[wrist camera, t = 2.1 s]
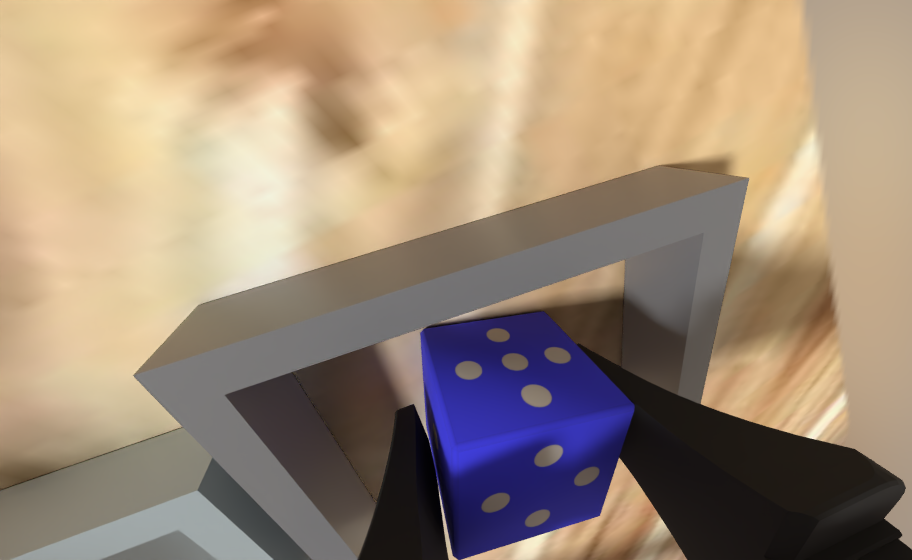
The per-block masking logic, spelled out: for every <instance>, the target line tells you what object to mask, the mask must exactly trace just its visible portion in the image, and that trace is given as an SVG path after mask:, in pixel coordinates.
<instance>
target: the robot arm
mask: <svg viewBox="0 0 912 560" xmlns="http://www.w3.org/2000/svg"><path fill="white" fill-rule="evenodd" d="M576 345H577V346H578V347H579V348H580V349H581V350H582V351H583V352H584V353H585V354H586V355H587V356H588V357H589V358H590V359H591V360H592V361H593V362H594V363H595V364H596V365H597V367H598V368H599V369H600V370H601V371H602V372H603V373H604V374H605V375H606V376H607V377H608V378H609V379H610V380H611V381H612V382H613V383H614V384H615V385H616V386H617V387H618V388H619V389H620V390H621V391H622V393H623V394H624V395H625V396H626V397H627V398H628V399H629V400H630V401H631V402H632V403H633V404H634V405H635V408H634V413H633V416H632V419H631V422H630V425H629V428H628V431H627V434H626V437H625V440H624V443H623V446H622V450H621V453H620V456H619V458H620V459H621V460H622V462H623V463H624V464H625V465H626V467H627V468H628V469H629V471H630V472H631V474H632V475H633V476H634V478H635V479H636V481H637V482H638V484H639V485H640V487H641V488H642V490H643V491H644V493H645V494H646V496H647V497H648V499H649V500H650V502H651V503H652V505H653V506H654V508H655V509H656V511H657V512H658V514H659V515H660V517H661V518H662V520H663V522H664V523H665V525H666V526H667V528H668V529H669V531H670V532H671V534H672V536H673V537H674V539H675V540H676V542H677V544H678V545H679V547H680V548H681V550H682V552H683V553H684V555H685V557H686V558H687V560H912V550H911V549H910V548H909V547H908V546H907V545H905V544H904V543H903V542H901V541H900V540H899V538H900V537H901V536H902V534H901V532H900V531H899V530H898V529H897V528H895V527H894V526H893V525H891V524H890V523H889V522H888V521H886V520H885V519H884V518H885V516H886V515H887V514H888V513H889V512H890V511H891V509H892V508H893V507H894V506H895V505H896V503H897V502H898V501H899V500H900V498H901V497H902V495H903V494H904V492H905V489H906V487H905V485H904V482H903V481H902V480H901V479H900V478H898V477H897V476H895V475H894V474H892V473H890V472H889V471H887V470H886V469H884V468H883V467H881V466H880V465H878V464H877V463H875V462H874V461H872V460H871V459H869V458H868V457H866V456H865V455H863V454H862V453H860V452H858V451H857V450H855V449H852V448H848V447H844V446H840V445H835V444H831V443H827V442H823V441H819V440H814V439H810V438H806V437H802V436H798V435H794V434H791V433H787V432H784V431H780V430H777V429H773V428H770V427H766V426H763V425H760V424H756V423H753V422H750V421H747V420H744V419H741V418H738V417H735V416H732V415H729V414H726V413H723V412H720V411H717V410H715V409H712V408H709V407H706V406H704V405H701V404H699V403H696V402H694V401H691V400H689V399H686V398H684V397H681V396H679V395H677V394H674V393H672V392H670V391H668V390H665V389H663V388H661V387H659V386H657V385H655V384H653V383H651V382H649V381H647V380H645V379H643V378H641V377H639V376H637V375H635V374H633V373H631V372H629V371H627V370H625V369H623V368H621V367H620V366H618V365H616V364H614V363H612V362H611V361H609V360H607V359H605V358H603V357H602V356H600V355H598V354H596V353H595V352H593V351H591V350H589V349H587V348H586V347H584V346H582V345H580V344H576ZM357 560H449V559H448V553H447V548H446V542H445V535H444V527H443V520H442V512H441V505H440V498H439V490H438V483H437V476H436V469H435V464H434V460H433V456H432V452H431V448H430V443H429V439H428V437H427V435H426V432H425V430H424V427H423V425H422V423H421V420H420V418H419V415H418V413H417V411H416V408H415V406H414V404H413V405H410V406H407V407H404V408H402V409H399V410H397V411H396V413H395V422H394V429H393V436H392V441H391V447H390V452H389V456H388V461H387V465H386V470H385V474H384V478H383V482H382V486H381V489H380V493H379V497H378V500H377V504H376V507H375V510H374V514H373V517H372V520H371V523H370V526H369V529H368V532H367V535H366V538H365V541H364V543H363V546H362V549H361V551H360V554H359V557H358V559H357Z"/></svg>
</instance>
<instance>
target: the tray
mask: <svg viewBox="0 0 912 560" xmlns="http://www.w3.org/2000/svg"><path fill="white" fill-rule="evenodd" d="M0 560H312V559H311V558H310V557H309V556H308V555H307V554H306V553H305V552H304V551H303V550H302V549H301V548H300V547H299V546H298V545H297V544H296V542H295V541H294V540H293V539H292V538H291V537H290V536H289V535H288V534H287V533H286V532H285V531H284V530H283V529H282V528H281V527H280V526H279V525H278V524H277V523H276V522H275V521H274V520H273V519H272V518H271V517H270V516H269V515H268V514H267V513H266V512H265V511H264V510H263V509H262V508H261V507H260V506H259V505H258V503H257V502H256V501H255V500H254V499H253V498H252V497H251V496H250V495H249V494H248V493H247V492H246V491H245V490H244V489H243V488H242V487H241V486H240V485H239V484H238V483H237V482H236V481H235V480H234V479H233V478H232V477H231V476H230V475H229V474H228V473H227V472H226V471H225V470H224V469H223V468H222V467H221V466H220V464H219V463H218V462H217V461H216V460H215V459H214V458H213V457H212V456H211V455H210V454H209V453H208V452H207V451H206V450H205V449H204V448H203V447H202V446H201V445H200V444H199V443H198V442H197V441H196V440H195V439H194V438H193V437H192V436H191V435H190V434H189V433H188V432H187V431H186V430H185V429H184V428H180V429H177V430H174V431H171V432H169V433H166V434H163V435H160V436H157V437H154V438H151V439H148V440H145V441H142V442H140V443H137V444H134V445H131V446H128V447H125V448H122V449H119V450H116V451H113V452H111V453H108V454H105V455H102V456H99V457H96V458H93V459H90V460H87V461H84V462H82V463H79V464H76V465H73V466H70V467H67V468H64V469H61V470H58V471H55V472H53V473H50V474H47V475H44V476H41V477H38V478H35V479H32V480H29V481H26V482H24V483H21V484H18V485H15V486H12V487H9V488H6V489H3V490H0Z"/></svg>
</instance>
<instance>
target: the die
mask: <svg viewBox="0 0 912 560" xmlns="http://www.w3.org/2000/svg"><path fill="white" fill-rule="evenodd" d="M420 335H421V350H422V366H423V381H424V396H425V412H426V426H427V431H428V436H429V441H430V445H431V450H432V455H433V460H434V464H435V469H436V475H437V480H438V485H439V490H440V495H441V500H442V504H443V509H444V514H445V519H446V524H447V529H448V534H449V539H450V544H451V549H452V554H453V556H454V557H455V558H457V559H458V560H461V559H464V558H467V557H471V556H474V555H477V554H480V553H483V552H486V551H490V550H493V549H496V548H499V547H502V546H506V545H509V544H512V543H515V542H518V541H521V540H525V539H528V538H531V537H534V536H537V535H540V534H544V533H547V532H550V531H553V530H556V529H559V528H563V527H566V526H569V525H572V524H575V523H579V522H582V521H585V520H588V519H591V518H594V517H598V516H600V513H601V510H602V507H603V504H604V501H605V498H606V495H607V492H608V489H609V486H610V483H611V480H612V477H613V474H614V471H615V468H616V465H617V462H618V459H619V456H620V453H621V450H622V446H623V443H624V440H625V437H626V434H627V431H628V428H629V425H630V422H631V419H632V416H633V413H634V408H635V405H634V404H633V403H632V402H631V401H630V400H629V399H628V398H627V397H626V396H625V395H624V394H623V393H622V391H621V390H620V389H619V388H618V387H617V386H616V385H615V384H614V383H613V382H612V381H611V380H610V379H609V378H608V377H607V376H606V375H605V374H604V373H603V372H602V371H601V370H600V369H599V368H598V367H597V365H596V364H595V363H594V362H593V361H592V360H591V359H590V358H589V357H588V356H587V355H586V354H585V353H584V352H583V351H582V350H581V349H580V348H579V347H578V346H577V345H576V344H575V343H574V342H573V341H572V340H571V338H570V337H569V336H568V335H567V334H566V333H565V332H564V331H563V330H562V329H561V328H560V327H559V326H558V325H557V324H556V323H555V322H554V321H553V320H552V319H551V318H550V317H549V316H548V315H547V314H546V313H545V312H544V311H542V312H535V313H528V314H522V315H515V316H508V317H501V318H494V319H488V320H481V321H474V322H467V323H460V324H454V325H447V326H440V327H433V328H426V329H424V330H423V331H422V332H421V333H420Z"/></svg>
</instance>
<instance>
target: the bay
mask: <svg viewBox="0 0 912 560" xmlns="http://www.w3.org/2000/svg"><path fill="white" fill-rule="evenodd" d="M748 181H749V178H746V177H738V176H731V175H724V174H716V173H709V172H702V171H694V170H687V169H680V168H673V167H665V166H656V167H653V168H650V169H646V170H643V171H640V172H636V173H633V174H630V175H626V176H623V177H620V178H617V179H613V180H610V181H607V182H603V183H600V184H597V185H593V186H590V187H587V188H584V189H580V190H577V191H574V192H570V193H567V194H564V195H560V196H557V197H554V198H551V199H547V200H544V201H541V202H537V203H534V204H531V205H527V206H524V207H521V208H518V209H514V210H511V211H508V212H504V213H501V214H498V215H494V216H491V217H488V218H485V219H481V220H478V221H475V222H471V223H468V224H465V225H461V226H458V227H455V228H452V229H448V230H445V231H442V232H438V233H435V234H432V235H428V236H425V237H422V238H418V239H415V240H412V241H409V242H405V243H402V244H399V245H395V246H392V247H389V248H385V249H382V250H379V251H376V252H372V253H369V254H366V255H362V256H359V257H356V258H352V259H349V260H346V261H343V262H339V263H336V264H333V265H329V266H326V267H323V268H319V269H316V270H313V271H310V272H306V273H303V274H300V275H296V276H293V277H290V278H286V279H283V280H280V281H277V282H273V283H270V284H267V285H263V286H260V287H257V288H253V289H250V290H247V291H244V292H240V293H237V294H234V295H230V296H227V297H224V298H220V299H217V300H214V301H211V302H207V303H204V304H201V305H198V306H197V307H196V308H195V309H194V310H193V311H192V313H191V314H190V315H189V316H188V317H187V318H186V319H185V320H184V321H183V322H182V323H181V324H180V325H179V327H178V328H177V329H176V330H175V331H174V332H173V333H172V334H171V335H170V336H169V337H168V338H167V339H166V341H165V342H164V343H163V344H162V345H161V346H160V347H159V348H158V349H157V350H156V351H155V352H154V353H153V355H152V356H151V357H150V358H149V359H148V360H147V361H146V362H145V363H144V364H143V365H142V366H141V367H140V369H139V370H138V371H137V372H136V373H135V374H134V375H133V376H134V377H135V378H136V379H137V380H138V381H139V382H140V383H141V384H142V385H143V386H144V387H145V389H146V390H147V391H148V392H149V393H150V394H151V395H152V396H153V397H154V398H155V399H156V400H157V401H158V402H159V403H160V404H161V405H162V406H163V407H164V408H165V409H166V410H167V411H168V412H169V413H170V414H171V415H172V416H173V417H174V418H175V419H176V420H177V421H178V422H179V423H180V424H181V425H182V427H183V428H184V429H185V430H186V431H187V432H188V433H189V434H190V435H191V436H192V437H193V438H194V439H195V440H196V441H197V442H198V443H199V444H200V445H201V446H202V447H203V448H204V449H205V450H206V451H207V452H208V453H209V454H210V455H211V456H212V457H213V458H214V459H215V460H216V461H217V462H218V463H219V464H220V466H221V467H222V468H223V469H224V470H225V471H226V472H227V473H228V474H229V475H230V476H231V477H232V478H233V479H234V480H235V481H236V482H237V483H238V484H239V485H240V486H241V487H242V488H243V489H244V490H245V491H246V492H247V493H248V494H249V495H250V496H251V497H252V498H253V499H254V500H255V501H256V502H257V503H258V505H259V506H260V507H261V508H262V509H263V510H264V511H265V512H266V513H267V514H268V515H269V516H270V517H271V518H272V519H273V520H274V521H275V522H276V523H277V524H278V525H279V526H280V527H281V528H282V529H283V530H284V531H285V532H286V533H287V534H288V535H289V536H290V537H291V538H292V539H293V540H294V541H295V542H296V544H297V545H298V546H299V547H300V548H301V549H302V550H303V551H304V552H305V553H306V554H307V555H308V556H309V557H310V558H311V559H312V560H357V559H358V557H359V554H360V551H361V549H362V546H363V543H364V541H365V538H366V535H367V532H368V529H369V526H370V523H371V520H372V517H373V514H374V510H375V507H376V503H375V501H374V500H373V498H372V497H371V495H370V494H369V492H368V490H367V489H366V487H365V486H364V484H363V483H362V481H361V480H360V478H359V476H358V475H357V473H356V472H355V470H354V469H353V467H352V465H351V464H350V462H349V461H348V459H347V458H346V456H345V455H344V453H343V451H342V450H341V448H340V447H339V445H338V444H337V442H336V440H335V439H334V437H333V436H332V434H331V433H330V431H329V430H328V428H327V426H326V425H325V423H324V422H323V420H322V419H321V417H320V415H319V414H318V412H317V411H316V409H315V408H314V406H313V405H312V403H311V401H310V400H309V398H308V397H307V395H306V394H305V392H304V390H303V389H302V387H301V386H300V384H299V383H298V381H297V380H296V378H295V376H294V375H293V373H292V372H293V371H296V370H299V369H302V368H305V367H308V366H311V365H314V364H317V363H320V362H323V361H326V360H329V359H332V358H335V357H338V356H341V355H344V354H347V353H350V352H353V351H356V350H359V349H361V348H364V347H367V346H370V345H373V344H376V343H379V342H382V341H385V340H388V339H391V338H394V337H397V336H400V335H403V334H406V333H409V332H412V331H415V330H418V329H421V328H424V327H427V326H429V325H432V324H435V323H438V322H441V321H444V320H447V319H450V318H453V317H456V316H459V315H462V314H465V313H468V312H471V311H474V310H477V309H480V308H483V307H486V306H489V305H492V304H495V303H497V302H500V301H503V300H506V299H509V298H512V297H515V296H518V295H521V294H524V293H527V292H530V291H533V290H536V289H539V288H542V287H545V286H548V285H551V284H554V283H557V282H560V281H563V280H565V279H568V278H571V277H574V276H577V275H580V274H583V273H586V272H589V271H592V270H595V269H598V268H601V267H604V266H607V265H610V264H613V263H616V262H619V261H622V260H625V283H624V309H623V335H622V362H621V368H623V369H625V370H627V371H629V372H631V373H633V374H635V375H637V376H639V377H641V378H643V379H645V380H647V381H649V382H651V383H653V384H655V385H657V386H659V387H661V388H663V389H665V390H668V391H670V392H672V393H674V394H677V395H679V396H681V397H684V398H686V399H689V400H691V401H694V402H696V403H699V404H701V399H702V394H703V390H704V385H705V380H706V376H707V371H708V366H709V362H710V357H711V353H712V348H713V343H714V339H715V334H716V329H717V325H718V320H719V315H720V311H721V306H722V302H723V297H724V292H725V288H726V283H727V278H728V274H729V269H730V264H731V260H732V255H733V251H734V246H735V241H736V237H737V232H738V227H739V223H740V218H741V213H742V209H743V204H744V200H745V195H746V190H747V186H748Z"/></svg>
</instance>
